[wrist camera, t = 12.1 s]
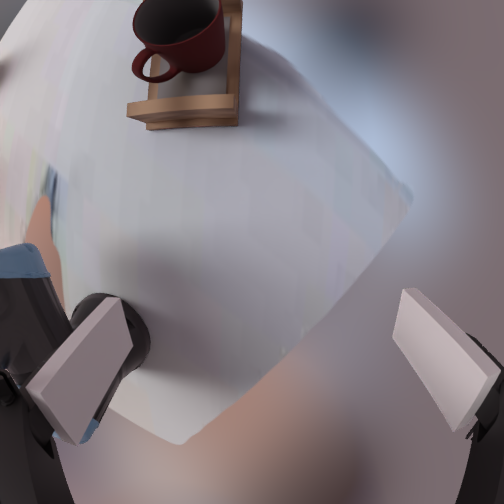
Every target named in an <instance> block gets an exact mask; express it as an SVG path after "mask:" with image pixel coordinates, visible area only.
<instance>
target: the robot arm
mask: <svg viewBox="0 0 504 504" xmlns="http://www.w3.org/2000/svg"><path fill="white" fill-rule="evenodd" d="M50 276H51V275H50V273H49V272H48V271H47V269H46V267H45V264H44V262H43V259H42V257H41V254H40V252H39V250H38V248H37V247H36V246H35V245H33V244H31V243H23V244H18V245H14V246H11V247H7V248H4V249H0V504H75V503H74V501H73V498H72V495H71V493H70V490H69V487H68V484H67V481H66V478H65V475H64V472H63V469H62V465H61V462H60V459H59V455H58V451H57V447H56V443H55V441H54V438H53V437H52V435H53V436H54V437H56V438H59V439H61V440H62V441H65V442H68V443H70V444H73V445H75V446H78V445H79V444H83V443H85V442H87V441H88V440H89V439H90V437H91V436H92V434H93V433H94V431H95V429H96V428H98V426H99V423H100V421H101V419H102V417H103V415H104V413H105V411H106V409H107V407H108V405H109V403H110V401H111V399H112V397H113V395H114V393H115V392H116V390H117V388H118V386H119V384H120V382H121V380H122V379H123V378H124V377H126V376H127V375H128V374H129V373H130V372H132V371H133V370H135V369H137V368H138V367H140V366H141V365H142V363H143V362H144V360H145V358H146V357H147V355H148V353H149V350H150V337H149V333H148V330H147V328H146V326H145V324H144V322H143V320H142V319H141V317H140V316H139V315H138V314H137V313H136V312H135V310H134V309H132V308H131V307H130V306H129V305H128V304H127V303H125V302H124V301H122V300H121V299H120V298H117V297H114V296H112V295H109V294H104V293H95V294H91V295H88V296H87V297H85V298H84V299H83V300H82V301H81V302H80V303H79V304H78V305H77V306H76V307H75V309H74V311H73V314H72V318H71V320H70V321H69V320H68V318H67V316H66V314H65V312H64V310H63V308H62V306H61V303H60V301H59V298H58V296H57V294H56V291H55V289H54V286H53V284H52V281H51V279H50ZM392 338H393V340H394V341H395V342H396V344H397V345H398V347H399V348H400V350H401V351H402V352H403V354H404V355H405V357H406V358H407V360H408V361H409V363H410V364H411V366H412V367H413V369H414V370H415V372H416V373H417V375H418V376H419V378H420V379H421V381H422V382H423V384H424V385H425V387H426V388H427V390H428V391H429V393H430V395H431V396H432V398H433V399H434V401H435V403H436V404H437V406H438V407H439V409H440V411H441V412H442V414H443V416H444V417H445V419H446V421H447V422H448V424H449V426H450V427H451V429H452V431H453V432H455V431H457V430H459V429H461V428H464V427H466V426H467V425H468V424H469V423H470V421H471V420H472V418H473V417H474V416H475V415H476V417H477V418H478V421H477V422H476V424H475V425H474V426H473V428H472V429H471V430H470V432H469V433H468V434H467V436H466V439H468V438H469V437H470V436H471V434H472V433H473V437H472V438H471V440H472V444H471V449H470V454H469V458H468V462H467V467H466V471H465V474H464V478H463V481H462V485H461V488H460V491H459V494H458V498H457V500H456V503H455V504H504V367H503V366H502V365H501V364H500V363H499V362H498V361H497V360H496V358H495V357H494V356H493V355H492V354H491V353H489V352H488V351H487V349H486V348H485V347H484V346H483V347H482V344H481V343H480V342H479V341H478V340H477V339H476V338H474V337H472V336H471V335H469V334H467V333H464V332H463V331H462V330H461V329H460V328H459V327H458V326H457V325H456V324H455V323H454V322H453V321H452V320H451V319H450V318H449V317H448V316H447V315H446V314H445V313H443V312H442V311H441V310H440V309H439V308H438V307H437V306H436V305H435V304H433V303H432V302H431V301H430V300H429V299H428V298H427V297H426V296H424V295H423V294H422V293H421V292H420V291H419V290H418V289H416V288H405V289H403V290H402V295H401V300H400V305H399V310H398V314H397V319H396V323H395V327H394V332H393V335H392ZM5 369H7V370H8V371H9V372H8V371H7V370H5ZM10 374H11V375H10ZM11 376H12V377H13V378H12V377H11ZM13 379H14V380H15V382H16V384H15V382H14V380H13Z"/></svg>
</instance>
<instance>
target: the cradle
mask: <svg viewBox="0 0 504 504" xmlns="http://www.w3.org/2000/svg"><path fill="white" fill-rule="evenodd" d="M143 1H144V0H143ZM221 3H222V8H223V16H224V29H225V52H224V55H223V57H222V59H221V60H220V61H219V62H218V63H217V64H216V65H215V66H214V67H212V68H210V69H209V70H206V71H204V72H200V73H186V72H180V73H179V74H177V75H176V76H175V77H174V78H172V79H170V80H168V81H166V82H163V83H150V82H149V89H148V100H146V101H140V102H133V103H127V117H129V118H132V119H135V120H139V121H142V122H145V123H146V130H149V131H150V130H160V129H172V128H187V127H210V126H238V107H239V78H240V53H241V31H242V9H243V1H242V0H221ZM169 68H170V65H169V63H168V62H167V61H166V60H165V59H163V58H162V57H160V56H159V55H158V54H155V55H153V56H152V59H151V68H150V77H156V76H159V75H162V74H164V73H166V72H167V71H168V70H169Z"/></svg>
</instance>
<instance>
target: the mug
mask: <svg viewBox="0 0 504 504" xmlns="http://www.w3.org/2000/svg"><path fill="white" fill-rule="evenodd" d="M133 31H134V33H135V35H136V36H137V38H138V39H139V40H140V41H141V42H142V43H143V44H144V45H145V47H146V48H145V49H143V50H142V51H140V52H139V53H138V55H137V56H136V57H135V59H134V61H133V63H132V72H133V73H134V75H135V76H137V77H138V78H140V79H142V80H144V81H146V82H150V83H163V82H166V81H168V80H170V79H172V78H174V77H175V76H176V75H177V74H179V73H180V72H186V73H200V72H204V71H206V70H209V69H210V68H212V67H214V66H215V65H216V64H217V63H218V62H219V61H220V60H221V59H222V57H223V55H224V52H225V29H224V16H223V8H222V3H221V0H144V1H143V2H142V3H141V4H140V6H139V7H138V9H137V11H136V13H135V15H134V18H133ZM155 54H158V55H159V56H160V57H162V58H163V59H165V60H166V61H167V62H168V63H169V65H170V68H169V70H168V71H167V72H166V73H164V74H162V75H159V76H156V77H146V76H144V75H143V67H144V65H145V63H146V62H147V60H148V59H149V58H150V57H151V56H153V55H155Z"/></svg>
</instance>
